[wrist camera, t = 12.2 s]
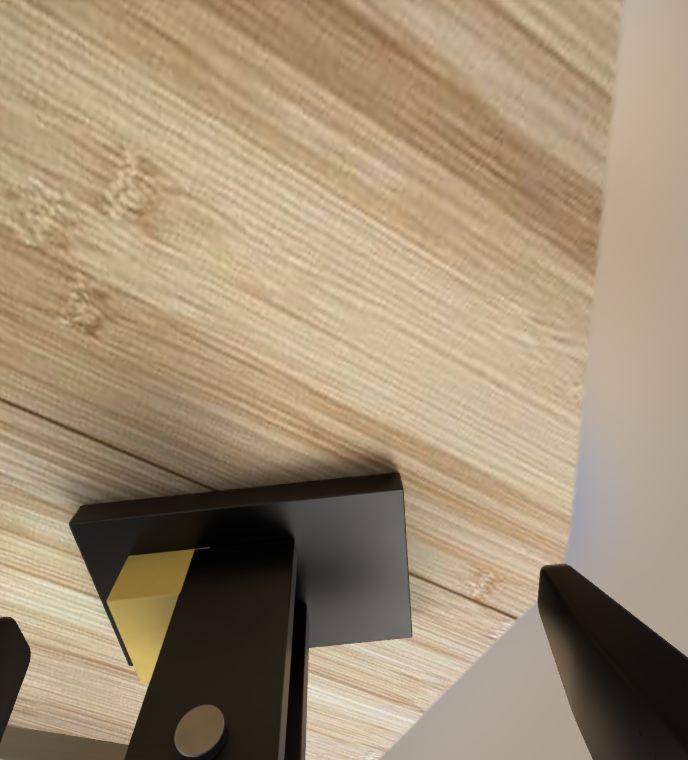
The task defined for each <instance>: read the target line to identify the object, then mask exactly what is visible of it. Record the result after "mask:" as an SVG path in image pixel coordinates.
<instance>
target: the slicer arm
mask: <svg viewBox="0 0 688 760" xmlns="http://www.w3.org/2000/svg"><path fill="white" fill-rule="evenodd" d="M128 746H129V745H126V744H119V743H113V742H107V741H101V740H95V739H89V738H83V737H76V736H70V735H64V734H58V733H52V732H46V731H39V730H33V729H27V728H21V727H15V726H9V725H7V726H6V729H5V732H4V734H3V737H2V740H1V743H0V760H124V758H125V755H126V752H127V749H128Z"/></svg>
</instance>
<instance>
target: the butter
mask: <svg viewBox="0 0 688 760" xmlns="http://www.w3.org/2000/svg"><path fill="white" fill-rule="evenodd" d="M209 548H210V547H209ZM199 549H205V548H199ZM194 550H195V549H189V550H180V551H170V552H161V553H151V554H141V555H132V556H128V558H127V560H126V562H125V564H124V566H123V568H122V570H121V572H120V574H119V576H118V578H117V580H116V582H115V584H114V586H113V588H112V590H111V593H110V595H109V597H108V599H107V604H108V606H109V609H110V611H111V614H112V616H113V618H114V621H115V623H116V625H117V628H118V630H119V633H120V635H121V637H122V640H123V642H124V644H125V647H126V649H127V652H128V654H129V656H130V659H131V661H132V663H133V666H134V668H135V671H136V673H137V675H138V678H139V680H140V682H141V684H146V683H150V680H151V677H152V674H153V671H154V668H155V665H156V662H157V659H158V655H159V652H160V649H161V646H162V643H163V640H164V637H165V634H166V631H167V628H168V625H169V622H170V619H171V616H172V613H173V610H174V607H175V604H176V601H177V598H178V595H179V593H180V592H181V589H182V586H183V583H184V580H185V577H186V574H187V571H188V568H189V565H190V562H191V559H192V556H193V553H194Z"/></svg>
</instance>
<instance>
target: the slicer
mask: <svg viewBox="0 0 688 760" xmlns="http://www.w3.org/2000/svg"><path fill="white" fill-rule="evenodd" d="M69 526H70V529H71V531H72V533H73V536H74V538H75V540H76V543H77V545H78V547H79V550H80V552H81V554H82V557H83V559H84V561H85V564H86V566H87V568H88V571H89V573H90V575H91V578H92V580H93V582H94V585H95V587H96V589H97V592H98V594H99V596H100V599H101V601H102V603H103V606H104V608H105V611H106V613H107V615H108V618H109V620H110V622H111V625H112V627H113V629H114V632H115V634H116V636H117V639H118V641H119V643H120V646H121V648H122V650H123V653H124V655H125V657H126V660H127V662H128V664H129V666H133V663H132V661H131V659H130V656H129V654H128V652H127V649H126V647H125V644H124V642H123V640H122V637H121V635H120V633H119V630H118V628H117V625H116V623H115V621H114V618H113V616H112V614H111V611H110V609H109V606H108V604H107V599H108V597H109V595H110V593H111V590H112V588H113V586H114V584H115V582H116V580H117V578H118V576H119V574H120V572H121V570H122V568H123V566H124V564H125V562H126V560H127V558H128V556H132V555H141V554H151V553H161V552H170V551H180V550H189V549H195V550H194V553H193V556H192V559H191V562H190V565H189V568H188V571H187V574H186V577H185V580H184V583H183V586H182V589H181V592H180V593H179V595H178V598H177V601H176V604H175V607H174V610H173V613H172V616H171V619H170V622H169V625H168V628H167V631H166V634H165V637H164V640H163V643H162V646H161V649H160V652H159V655H158V659H157V662H156V665H155V668H154V671H153V674H152V677H151V680H150V683H149V686H148V689H147V692H146V695H145V698H144V701H143V704H142V707H141V710H140V713H139V716H138V719H137V722H136V725H135V728H134V731H133V734H132V737H131V740H130V743H129V746H128V749H127V752H126V755H125V758H124V760H305V749H306V717H307V685H308V653H309V648H312V647H322V646H332V645H342V644H351V643H361V642H371V641H381V640H390V639H400V638H410V637H412V622H411V606H410V590H409V573H408V557H407V540H406V524H405V507H404V491H403V485H402V481H401V477H400V474H399V473H398V472H397V473H388V474H378V475H369V476H359V477H350V478H340V479H331V480H321V481H312V482H302V483H293V484H283V485H274V486H264V487H255V488H245V489H235V490H226V491H216V492H207V493H197V494H188V495H178V496H169V497H159V498H150V499H140V500H131V501H121V502H112V503H102V504H93V505H83V506H81V507H80V508H79V509H78V511H77V512H76V514H75V515H74V517H73V518H72V519H71V521H70V522H69ZM209 547H210V548H209ZM199 548H205V549H199Z"/></svg>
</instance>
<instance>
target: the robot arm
mask: <svg viewBox="0 0 688 760" xmlns="http://www.w3.org/2000/svg"><path fill="white" fill-rule="evenodd" d="M538 608H539V613H540V616H541V620H542V622H543V626H544V629H545V632H546V635H547V638H548V641H549V643H550V647H551V650H552V653H553V656H554V658H555V662H556V665H557V668H558V671H559V674H560V677H561V680H562V683H563V686H564V689H565V692H566V695H567V698H568V700H569V704H570V707H571V709H572V712H573V714H574V717H575V719H576V722H577V724H578V727H579V729H580V731H581V734H582V736H583V738H584V740H585V743H586V745H587V747H588V749H589V752H590V754H591V756H592V759H593V760H688V657H686V656H685V655H684V654H682V653H681V652H680V651H678V650H677V649H676V648H675V647H673V646H672V645H671V644H670V643H668V642H667V641H666V640H665V639H663V638H662V637H661V636H659V635H658V634H657V633H656V632H654V631H653V630H652V629H650V628H649V627H648V626H647V625H645V624H644V623H643V622H641V621H640V620H639V619H638V618H636V617H635V616H634V615H632V614H631V613H630V612H629V611H627V610H626V609H625V608H623V607H622V606H621V605H620V604H618V603H617V602H616V601H614V600H613V599H612V598H611V597H609V596H608V595H606V594H605V593H604V592H603V591H602V590H600V589H599V588H598V587H597V586H595V585H594V584H593V583H591V582H590V581H589V580H588V579H586V578H585V577H584V576H582V575H581V574H580V573H578V572H577V571H576V570H575V569H573V568H572V567H571V566H569V565H567V564H554V565H545V566H543V567H542V568H541V570H540V578H539V591H538ZM30 657H31V652H30V647H29V645H28V643H27V641H26V640H25V638H24V636H23V634H22V632H21V630H20V628H19V627H18V625H17V623H16V621H15V620H14V619H13V618H11V617H0V743H1V740H2V737H3V734H4V732H5V729H6V726H7V723H8V721H9V718H10V715H11V712H12V710H13V707H14V704H15V701H16V699H17V696H18V693H19V691H20V688H21V685H22V682H23V680H24V677H25V674H26V671H27V669H28V666H29V662H30Z"/></svg>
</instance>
